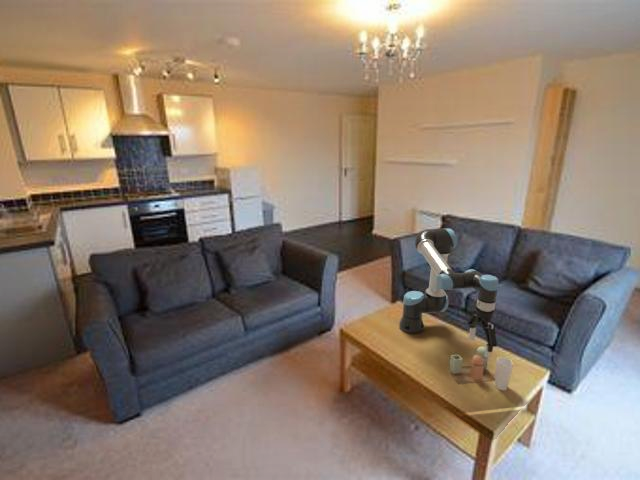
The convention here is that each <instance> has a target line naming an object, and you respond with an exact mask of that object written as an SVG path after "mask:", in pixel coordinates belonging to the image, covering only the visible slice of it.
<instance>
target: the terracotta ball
mask: <svg viewBox="0 0 640 480" xmlns="http://www.w3.org/2000/svg"><path fill="white" fill-rule="evenodd" d="M471 361H473V363H474V364H476V365H482V364H483V363H484V359H483V357H482V356H481V355H476V354H474V355H473V356H472V360H471Z"/></svg>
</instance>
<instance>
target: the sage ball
mask: <svg viewBox="0 0 640 480" xmlns="http://www.w3.org/2000/svg"><path fill="white" fill-rule="evenodd" d="M485 349H486V346H479V347H478V348H477V349H476V353H478V355H481V356H482V357H485Z"/></svg>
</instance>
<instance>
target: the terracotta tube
mask: <svg viewBox="0 0 640 480" xmlns="http://www.w3.org/2000/svg"><path fill="white" fill-rule="evenodd" d="M470 365H471V369H470V376H471V377H472V379H473V380H474V381H475V380H482V375H483V368H484V365H483V364H482V365H476V364H474V363H473V360H471V362H470Z"/></svg>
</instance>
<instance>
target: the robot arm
mask: <svg viewBox="0 0 640 480" xmlns="http://www.w3.org/2000/svg"><path fill="white" fill-rule="evenodd" d="M457 245H458V238H457V235H456V233H455V231H454V230H453V229H452V228H445V227H443V228H430V229H428V228H427V229H423V230H421V231H420V232H418V233H417V234H416V236H415V239H414V246H415V249H416V251H417V252H418V253H419V254H422V256H423V257H424V259H425V260H426V262H427V263H428V264H429V266H430V274H429V284H428V287H427V288H426V289H425V293H423V292H422V291H417V290H411V291H407V292H406V293H405V294H404V295H403V300H402V316H401V319H400V321H399V323H398V324H399V325H398V326H399V327H400V328H399V329H400V330H401V329H402V330H403V332H404V331H405V332H404V333H406V332H407V333H406V334H410V333H411V335H412V334H413V335H417V333H419V334H421V333H423V332H424V331H423V330H425V323H424V321H423V314H430V313H442V312H445V311H446V310H447V309H448V307H449V297H448V295H447V293H446V291H451V290H464V289H465V290H466V289H474V290H475V291H476V292H477V301H476V307H475V310H473V311H472V314H471V316H470V317H469V319H468V321H467V325H468V326H469V335H468V340H469V341H474V340H475V339H476V331H477V326H478V325H479V326H480V327H481V328H482V331H483V332H484V334H485V335H484V336H485V339H486V344H485V348H486V349H485V357H488V358H491V357H492V352H493V349H494V348H496V347H498V343H497V335H496V329H495V328H496V324H494V323H491V321H492V319H493V318H494V314H495V307H496V303H497V302H496V300H497V295H498V290H499V279H498V277H497V276H496V275H495V276H493V275H492V274H482V273H481V272H480V271H478V270H475V269H472V268H471V269H468V270H465V271H464V272H456V273H455V271H453V269H452V268H451V267H450V265H449V264H448V257H449V255H450V254H451V253H452V249H455V248H456V247H457ZM402 330H401V331H402Z"/></svg>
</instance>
